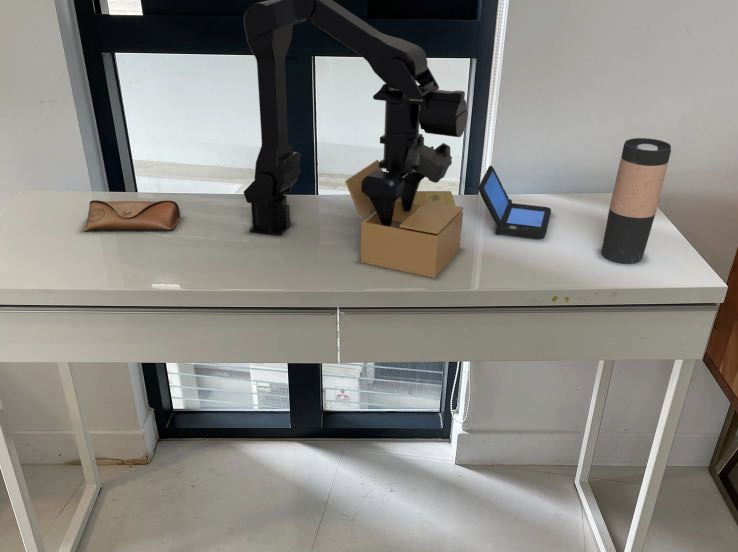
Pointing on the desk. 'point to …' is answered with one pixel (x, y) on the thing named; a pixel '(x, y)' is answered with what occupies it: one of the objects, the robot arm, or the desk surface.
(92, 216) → the sunglasses case
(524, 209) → the game console
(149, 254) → the desk surface
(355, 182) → the flap
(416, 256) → the kraft box
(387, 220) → the robot arm
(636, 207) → the travel mug
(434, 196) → the carton
